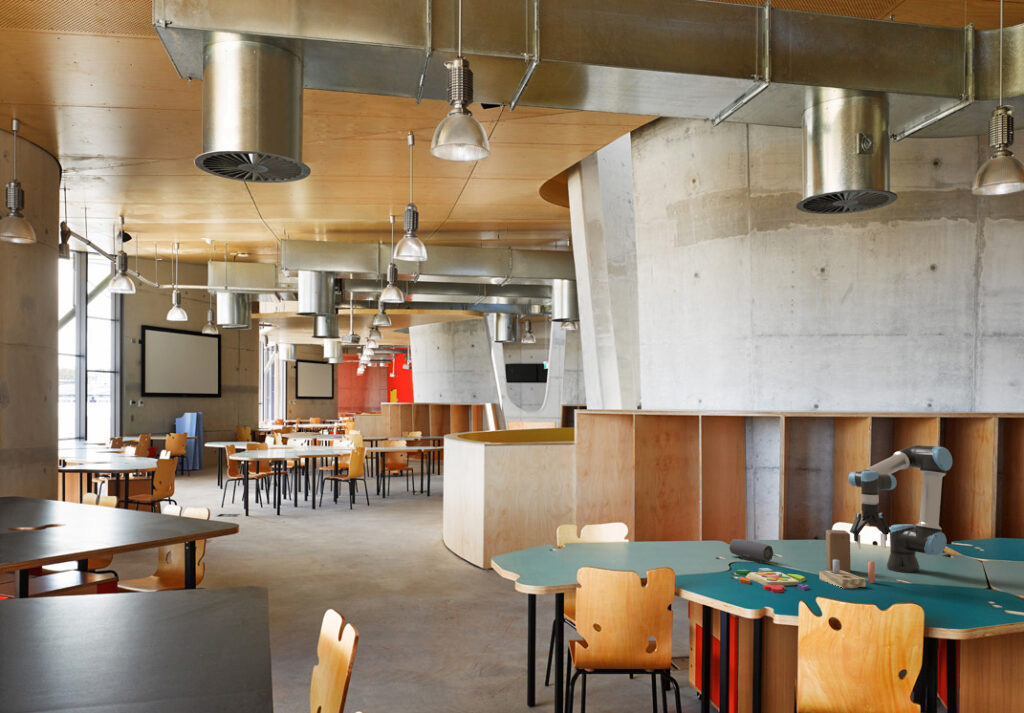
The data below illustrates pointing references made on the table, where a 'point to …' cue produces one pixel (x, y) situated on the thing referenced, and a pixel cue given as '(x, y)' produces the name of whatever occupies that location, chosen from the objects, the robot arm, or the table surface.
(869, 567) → the red peg
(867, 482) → the robot arm
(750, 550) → the bluetooth speaker
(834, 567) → the grey peg
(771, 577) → the pattern blocks set
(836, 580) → the hole block
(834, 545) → the wooden block
